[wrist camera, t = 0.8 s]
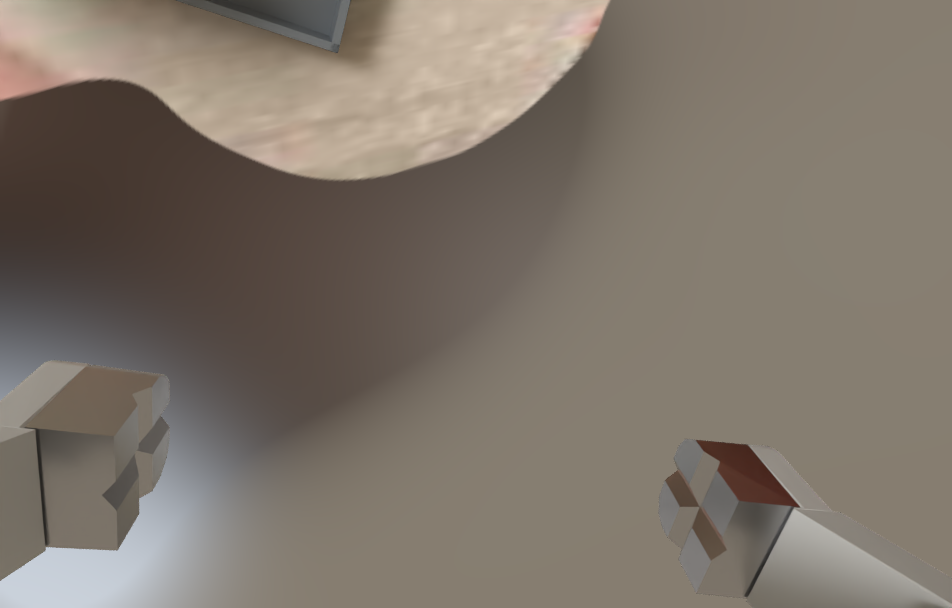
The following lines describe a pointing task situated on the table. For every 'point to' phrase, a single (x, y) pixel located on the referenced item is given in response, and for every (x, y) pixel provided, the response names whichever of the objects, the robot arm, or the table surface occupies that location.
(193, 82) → the table surface
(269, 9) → the tray
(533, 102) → the table surface
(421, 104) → the table surface
